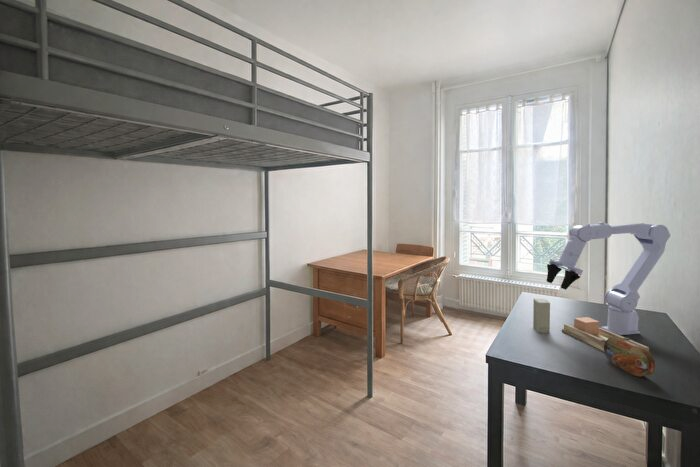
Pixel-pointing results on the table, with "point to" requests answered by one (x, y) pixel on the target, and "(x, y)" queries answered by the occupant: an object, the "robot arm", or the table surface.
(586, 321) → the block
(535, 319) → the skincare box
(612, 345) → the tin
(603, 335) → the chute
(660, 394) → the table surface
